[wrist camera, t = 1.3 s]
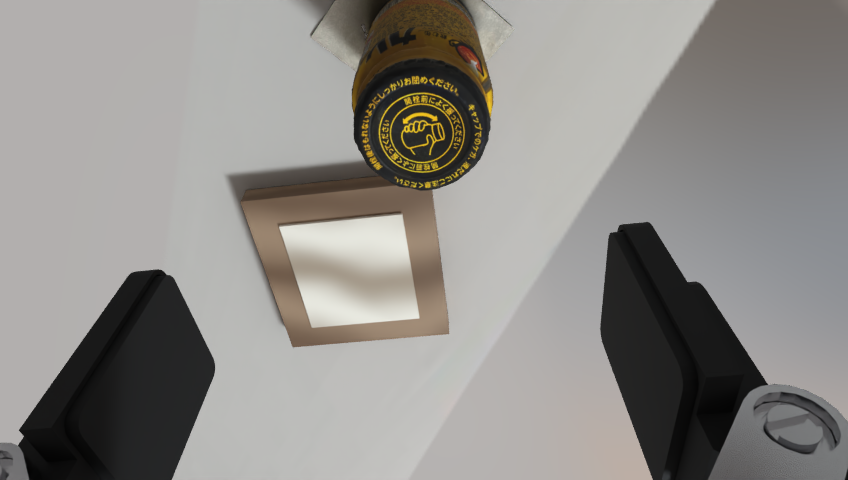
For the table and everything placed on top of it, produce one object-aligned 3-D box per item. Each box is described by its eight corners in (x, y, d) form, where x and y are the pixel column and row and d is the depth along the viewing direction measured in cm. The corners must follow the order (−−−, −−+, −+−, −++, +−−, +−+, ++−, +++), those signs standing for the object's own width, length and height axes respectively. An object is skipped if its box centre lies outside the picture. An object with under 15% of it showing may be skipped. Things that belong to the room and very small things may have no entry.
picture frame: (246, 189, 35) (239, 203, 34) (429, 170, 35) (429, 183, 33) (296, 333, 43) (292, 349, 41) (448, 320, 42) (449, 335, 41)
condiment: (430, 126, 33) (433, 239, 23) (311, 36, 30) (256, 122, 20) (514, 28, 30) (558, 111, 20) (389, -84, 27) (369, -52, 17)
